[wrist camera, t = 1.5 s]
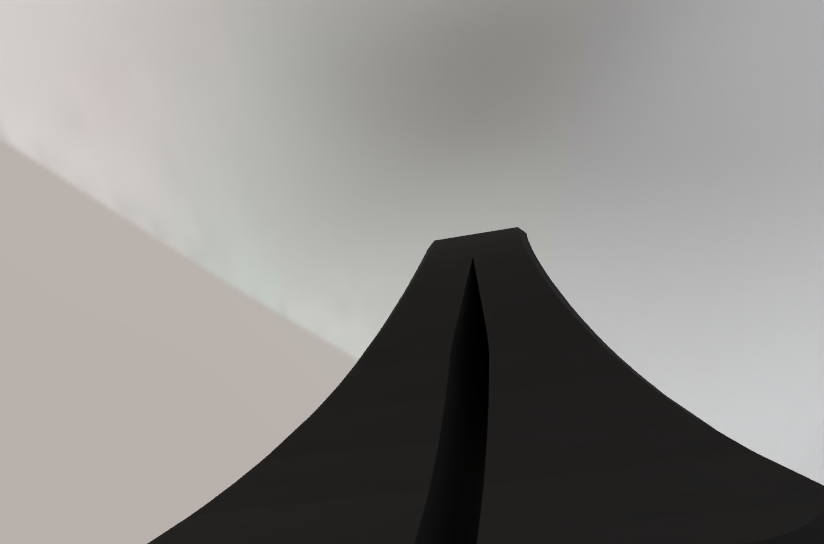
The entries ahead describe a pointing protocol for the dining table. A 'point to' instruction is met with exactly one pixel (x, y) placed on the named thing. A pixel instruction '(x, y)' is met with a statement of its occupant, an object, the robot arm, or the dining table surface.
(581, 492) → the robot arm
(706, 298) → the dining table surface
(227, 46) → the dining table surface
